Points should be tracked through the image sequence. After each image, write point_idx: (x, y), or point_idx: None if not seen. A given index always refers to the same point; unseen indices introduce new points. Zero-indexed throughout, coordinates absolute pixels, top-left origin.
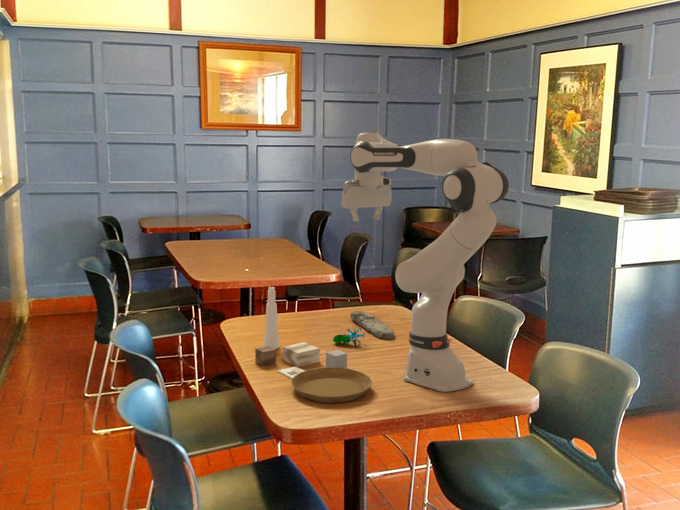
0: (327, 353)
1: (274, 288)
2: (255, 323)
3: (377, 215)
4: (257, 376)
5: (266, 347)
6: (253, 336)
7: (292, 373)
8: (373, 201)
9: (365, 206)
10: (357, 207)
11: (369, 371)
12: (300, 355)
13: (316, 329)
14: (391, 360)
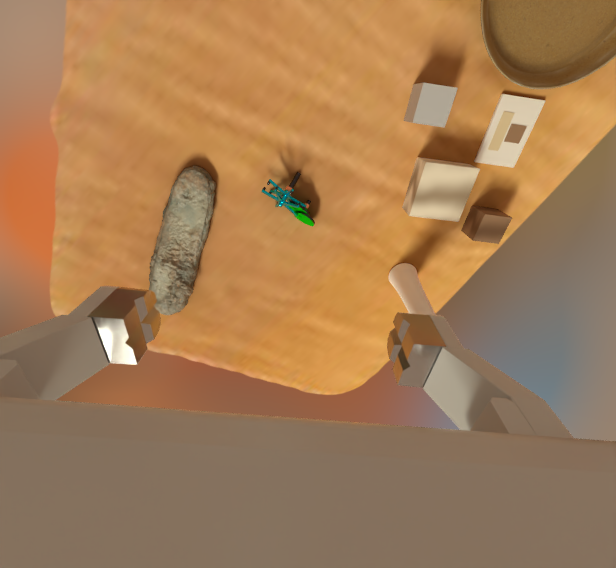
0: (445, 121)
1: None
2: (326, 367)
3: (114, 312)
4: (552, 173)
5: (483, 234)
6: (377, 327)
7: (518, 131)
8: (93, 543)
9: (371, 436)
10: (568, 441)
11: (403, 20)
12: (470, 166)
13: (275, 297)
14: (304, 44)
